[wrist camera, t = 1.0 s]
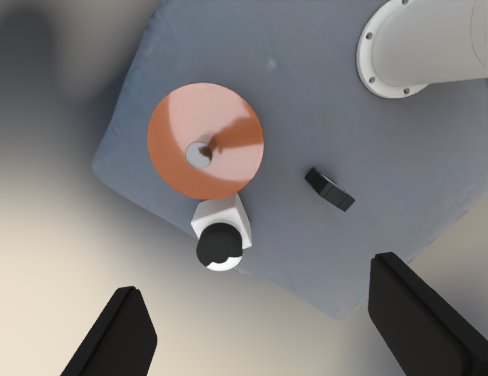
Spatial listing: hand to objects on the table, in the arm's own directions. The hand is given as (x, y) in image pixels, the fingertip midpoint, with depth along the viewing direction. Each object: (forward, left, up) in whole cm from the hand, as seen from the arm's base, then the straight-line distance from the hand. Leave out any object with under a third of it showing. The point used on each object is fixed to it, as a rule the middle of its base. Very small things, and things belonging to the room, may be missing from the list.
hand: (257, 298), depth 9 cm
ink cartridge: (-6, +12, -30) cm, 33 cm away
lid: (+1, -5, -20) cm, 21 cm away
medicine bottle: (+10, +5, -30) cm, 32 cm away
